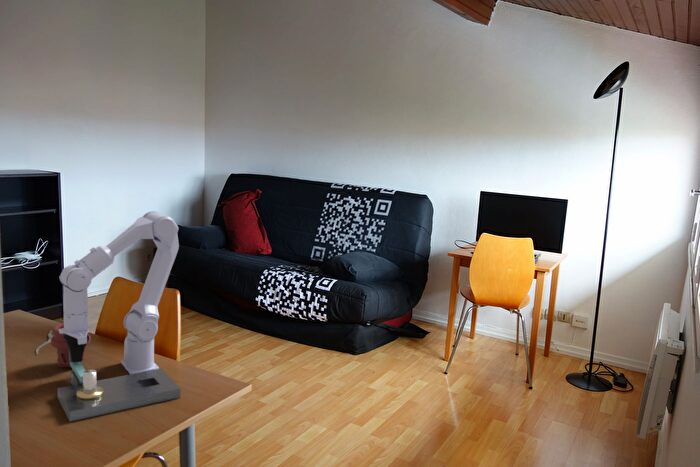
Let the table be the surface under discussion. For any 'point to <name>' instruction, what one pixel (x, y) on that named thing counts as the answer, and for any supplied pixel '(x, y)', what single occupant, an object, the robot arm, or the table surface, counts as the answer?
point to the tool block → (118, 394)
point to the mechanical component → (63, 347)
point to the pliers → (45, 342)
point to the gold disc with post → (89, 386)
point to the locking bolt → (77, 369)
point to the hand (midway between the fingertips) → (76, 361)
